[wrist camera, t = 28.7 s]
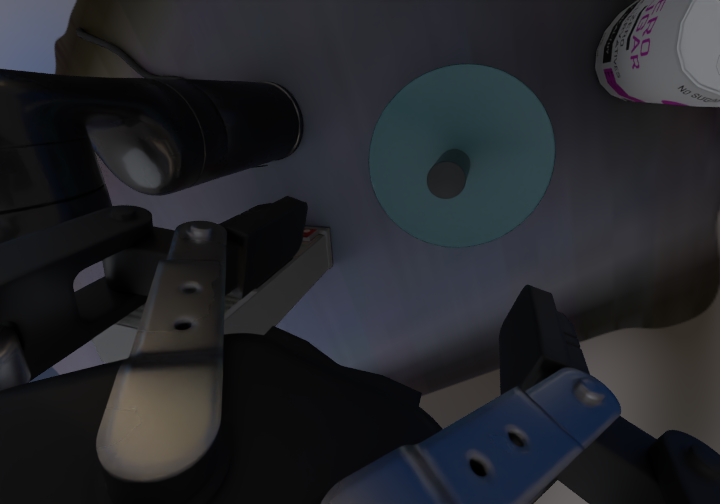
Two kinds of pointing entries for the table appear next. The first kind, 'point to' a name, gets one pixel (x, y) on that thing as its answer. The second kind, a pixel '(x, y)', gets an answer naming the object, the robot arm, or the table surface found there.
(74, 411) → the robot arm
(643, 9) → the supplement can
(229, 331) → the cassette tape recorder
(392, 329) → the table surface
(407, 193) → the tin lid
